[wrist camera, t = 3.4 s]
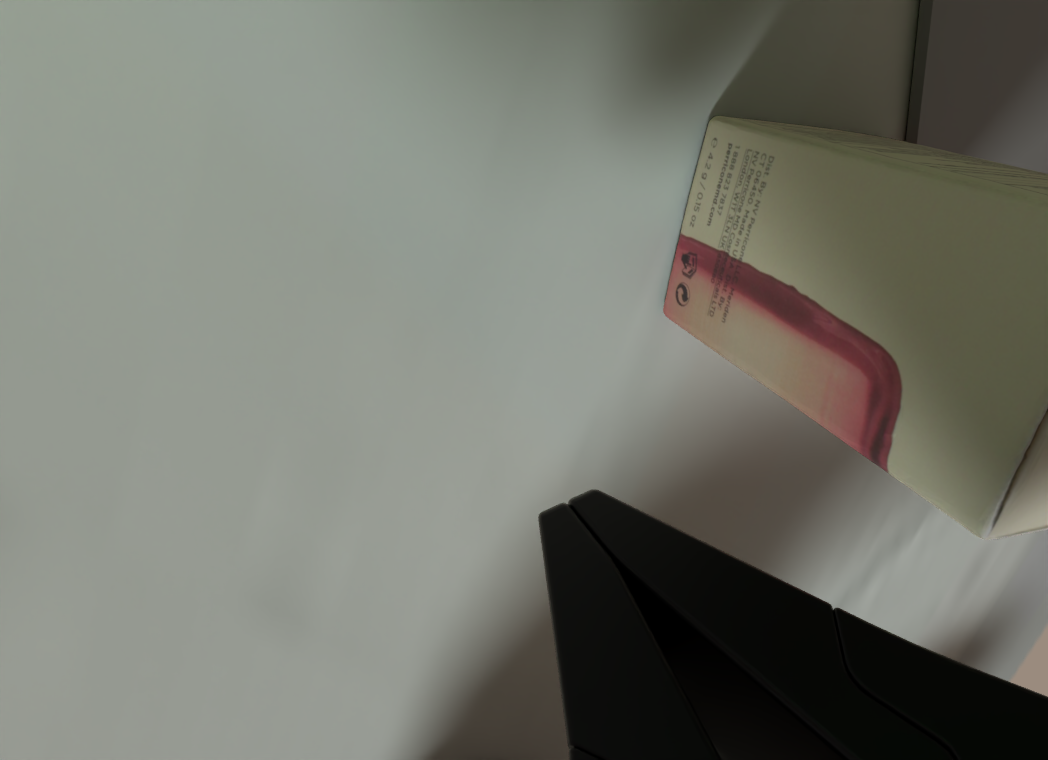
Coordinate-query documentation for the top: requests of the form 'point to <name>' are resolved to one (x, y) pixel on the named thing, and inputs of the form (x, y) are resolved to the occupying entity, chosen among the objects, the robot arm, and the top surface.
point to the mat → (982, 80)
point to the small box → (882, 303)
